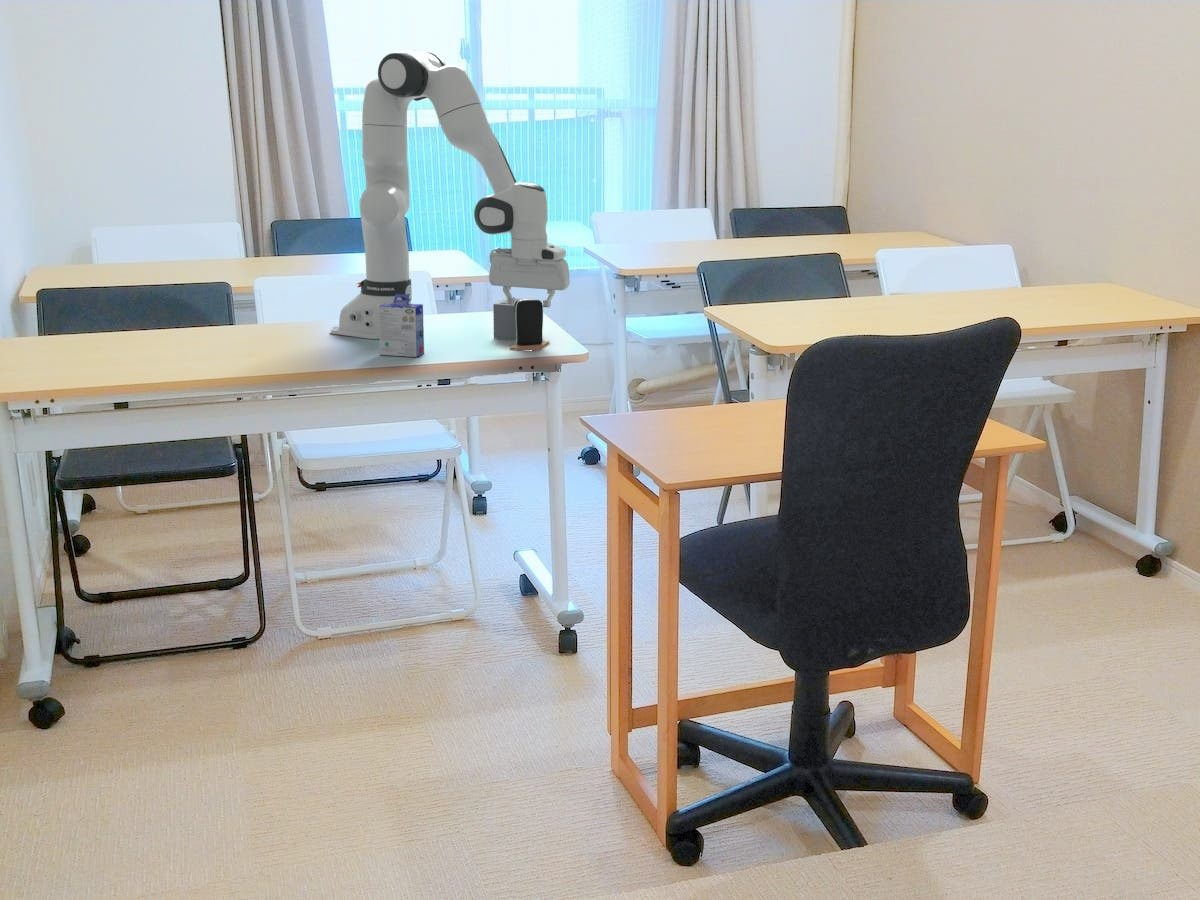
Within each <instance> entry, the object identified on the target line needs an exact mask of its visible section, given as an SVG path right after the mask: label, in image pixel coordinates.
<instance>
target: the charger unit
mask: <svg viewBox="0 0 1200 900" xmlns="http://www.w3.org/2000/svg"><path fill="white" fill-rule="evenodd" d="M518 299H520V297H519V298H516V297H515V302H516V301H517V300H518ZM492 305H493V309H492V310H493V311H492V312H493V314H492V315H493V339H494V338H497V340H507V339H510V340H509V341H516V323H515V319H514V305H515V304H514V305H509V304H507V297H505V298H503V299H501V300H499V301H497V302H495V303H493V304H492Z"/></svg>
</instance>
